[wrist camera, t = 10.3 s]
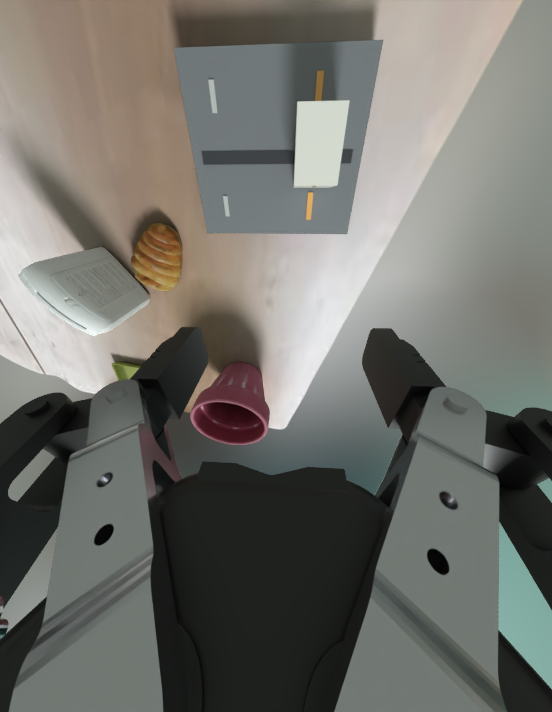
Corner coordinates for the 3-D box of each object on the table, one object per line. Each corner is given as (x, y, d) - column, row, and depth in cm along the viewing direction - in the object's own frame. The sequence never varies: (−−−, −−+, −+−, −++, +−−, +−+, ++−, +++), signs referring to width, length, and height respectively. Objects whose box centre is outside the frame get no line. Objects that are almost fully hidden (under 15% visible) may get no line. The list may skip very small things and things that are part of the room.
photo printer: (86, 255, 32) (-3, 281, 22) (101, 240, 31) (13, 260, 21) (140, 308, 37) (87, 347, 28) (155, 298, 36) (105, 335, 26)
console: (214, 230, 29) (207, 233, 26) (187, 65, 20) (172, 46, 18) (342, 230, 28) (347, 234, 25) (372, 58, 19) (383, 38, 17)
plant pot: (204, 383, 49) (181, 431, 39) (223, 341, 41) (201, 389, 31) (256, 403, 52) (248, 452, 42) (284, 370, 45) (282, 420, 35)
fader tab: (293, 187, 23) (293, 185, 19) (296, 120, 20) (297, 101, 16) (329, 187, 22) (337, 185, 19) (338, 119, 19) (349, 100, 15)
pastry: (147, 209, 28) (130, 211, 25) (194, 239, 30) (183, 244, 27) (137, 269, 33) (122, 276, 30) (177, 291, 35) (167, 300, 32)
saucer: (117, 357, 46) (110, 363, 44) (156, 363, 46) (151, 370, 45) (127, 383, 51) (122, 389, 50) (162, 389, 52) (158, 395, 50)
